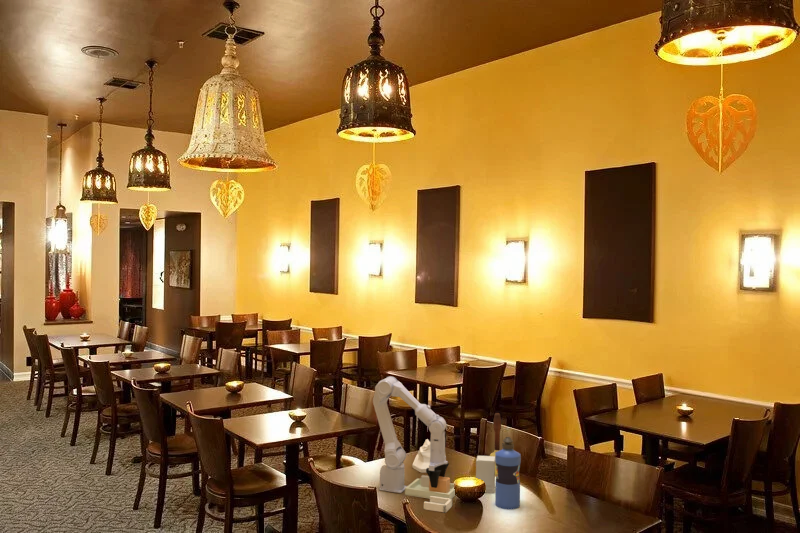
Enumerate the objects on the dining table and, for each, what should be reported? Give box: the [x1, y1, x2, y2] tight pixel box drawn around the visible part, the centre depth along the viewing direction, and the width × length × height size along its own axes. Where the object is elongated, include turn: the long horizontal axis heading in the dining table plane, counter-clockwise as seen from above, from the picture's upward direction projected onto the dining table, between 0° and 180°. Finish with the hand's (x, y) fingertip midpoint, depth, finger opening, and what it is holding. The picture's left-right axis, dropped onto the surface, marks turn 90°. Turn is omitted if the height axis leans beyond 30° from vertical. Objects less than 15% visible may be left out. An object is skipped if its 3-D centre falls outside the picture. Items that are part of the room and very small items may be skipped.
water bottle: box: [494, 436, 522, 510], centre depth 244 cm, size 9×9×25 cm
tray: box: [404, 477, 456, 500], centre depth 257 cm, size 18×13×3 cm
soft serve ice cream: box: [411, 438, 430, 474], centre depth 287 cm, size 12×15×14 cm
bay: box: [423, 496, 453, 514], centre depth 241 cm, size 8×8×2 cm
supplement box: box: [475, 455, 496, 494], centre depth 261 cm, size 7×7×13 cm
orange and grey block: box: [420, 474, 451, 493], centre depth 257 cm, size 11×4×6 cm, turn 67°
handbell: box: [489, 412, 502, 476], centre depth 286 cm, size 12×12×25 cm
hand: (437, 484), depth 256 cm, fingers open, 7 cm apart
